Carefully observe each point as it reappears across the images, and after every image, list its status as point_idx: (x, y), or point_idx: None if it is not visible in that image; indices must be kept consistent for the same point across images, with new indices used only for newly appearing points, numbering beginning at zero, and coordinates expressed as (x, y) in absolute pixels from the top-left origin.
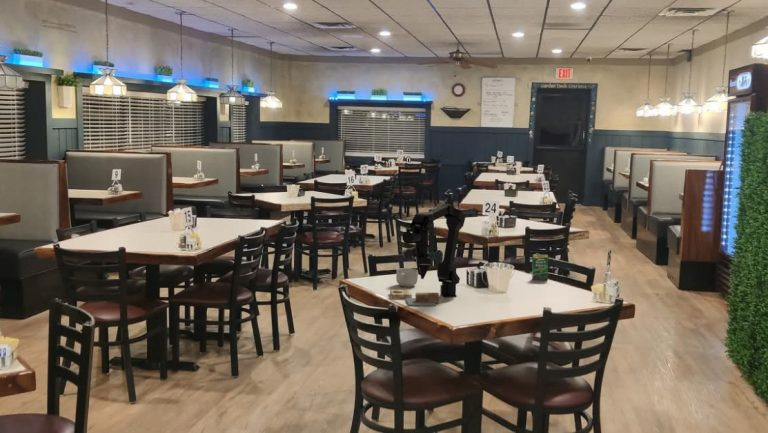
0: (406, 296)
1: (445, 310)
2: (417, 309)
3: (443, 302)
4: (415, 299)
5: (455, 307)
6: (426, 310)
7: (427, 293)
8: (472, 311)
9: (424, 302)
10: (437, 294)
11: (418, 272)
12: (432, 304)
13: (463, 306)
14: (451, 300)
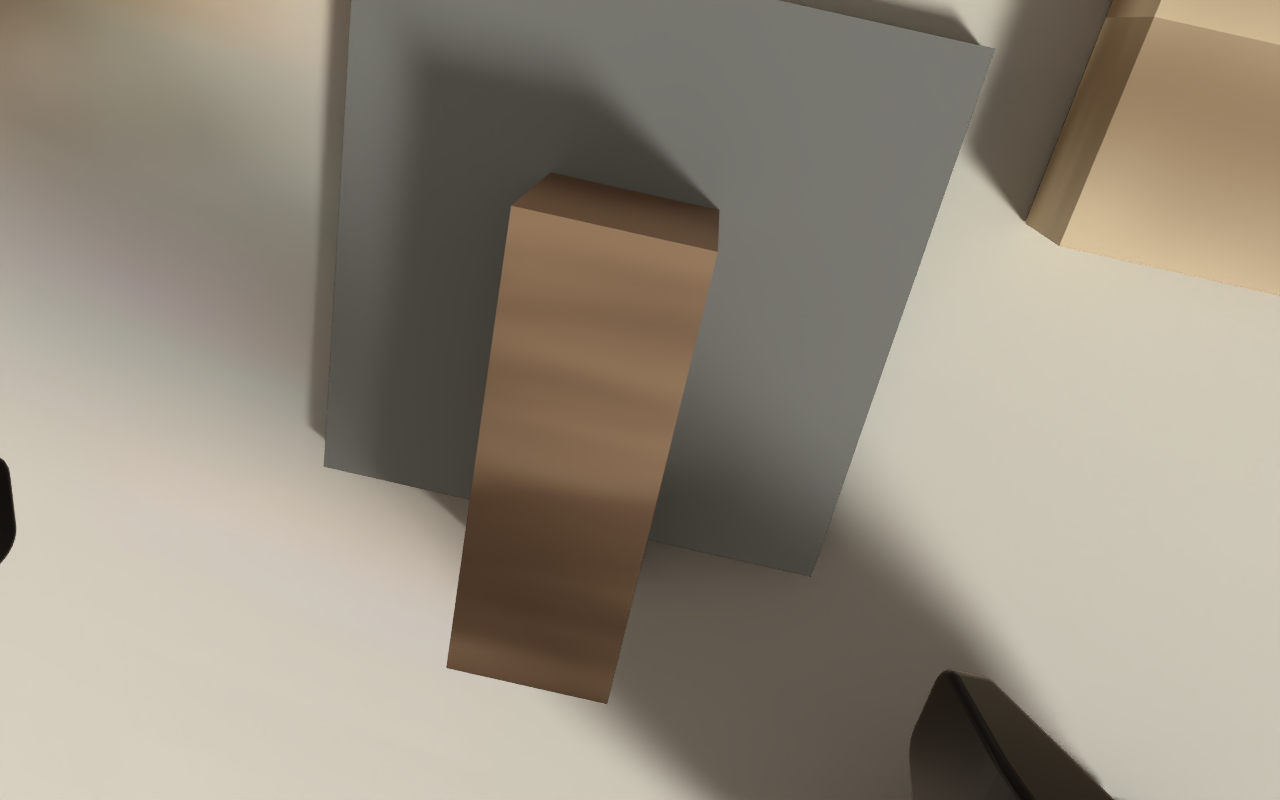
0: (1092, 106)
1: (58, 490)
2: (97, 27)
3: None
4: (716, 213)
5: (251, 684)
6: (31, 183)
7: (567, 490)
8: (31, 779)
9: None
10: (453, 641)
11: (978, 746)
12: (327, 411)
13: (307, 792)
14: (693, 795)
